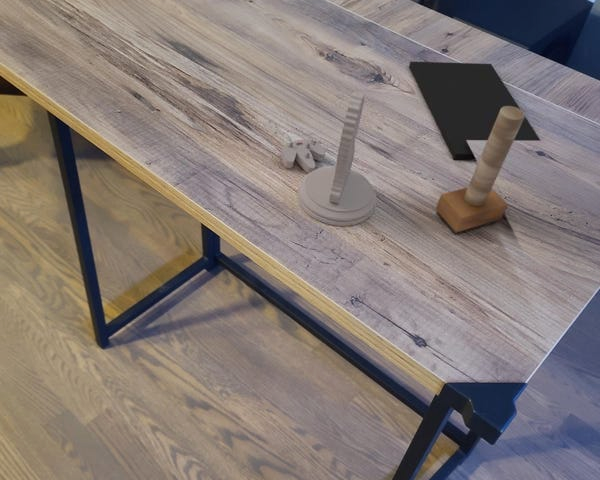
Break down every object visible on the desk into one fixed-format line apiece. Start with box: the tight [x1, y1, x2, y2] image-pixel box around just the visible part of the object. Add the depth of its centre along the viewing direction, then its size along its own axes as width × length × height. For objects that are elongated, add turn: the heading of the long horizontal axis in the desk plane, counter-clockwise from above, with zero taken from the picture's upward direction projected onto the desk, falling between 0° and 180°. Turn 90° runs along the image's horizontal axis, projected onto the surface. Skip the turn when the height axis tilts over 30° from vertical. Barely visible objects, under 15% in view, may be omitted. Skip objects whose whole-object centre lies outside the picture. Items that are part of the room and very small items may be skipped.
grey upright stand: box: [296, 90, 378, 227], centre depth 68 cm, size 10×10×15 cm
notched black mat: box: [408, 61, 542, 161], centre depth 90 cm, size 14×24×1 cm, turn 8°
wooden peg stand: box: [435, 106, 526, 235], centre depth 69 cm, size 7×4×15 cm, turn 116°
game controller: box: [269, 119, 326, 174], centre depth 78 cm, size 6×12×3 cm, turn 46°
